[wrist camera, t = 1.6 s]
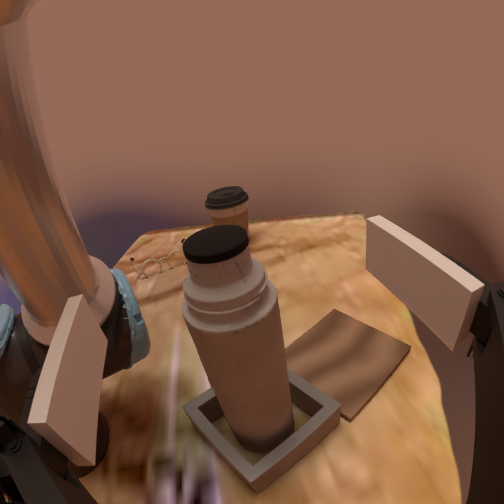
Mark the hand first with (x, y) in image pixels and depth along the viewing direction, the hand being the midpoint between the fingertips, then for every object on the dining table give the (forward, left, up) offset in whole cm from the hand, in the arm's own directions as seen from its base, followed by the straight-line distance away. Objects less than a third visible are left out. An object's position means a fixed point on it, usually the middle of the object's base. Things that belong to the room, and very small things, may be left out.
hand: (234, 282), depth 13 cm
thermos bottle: (-9, +4, -30) cm, 32 cm away
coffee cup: (-55, +34, -30) cm, 71 cm away
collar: (-10, +4, -30) cm, 32 cm away
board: (-9, +20, -30) cm, 37 cm away
